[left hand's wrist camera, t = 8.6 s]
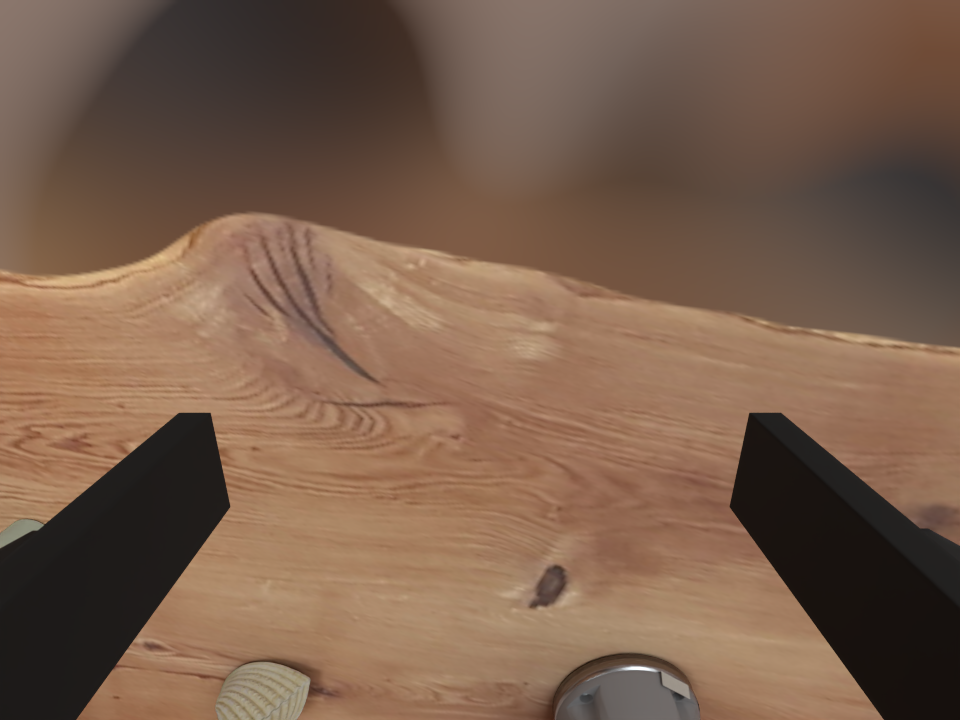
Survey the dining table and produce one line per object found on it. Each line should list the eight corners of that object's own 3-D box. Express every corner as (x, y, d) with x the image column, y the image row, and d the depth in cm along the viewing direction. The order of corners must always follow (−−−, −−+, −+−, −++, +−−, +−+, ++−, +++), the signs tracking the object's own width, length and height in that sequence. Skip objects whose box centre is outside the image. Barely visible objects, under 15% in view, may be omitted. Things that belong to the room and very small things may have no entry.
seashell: (188, 693, 52) (216, 702, 47) (266, 640, 58) (298, 643, 53) (217, 770, 52) (248, 788, 46) (292, 708, 58) (327, 718, 53)
